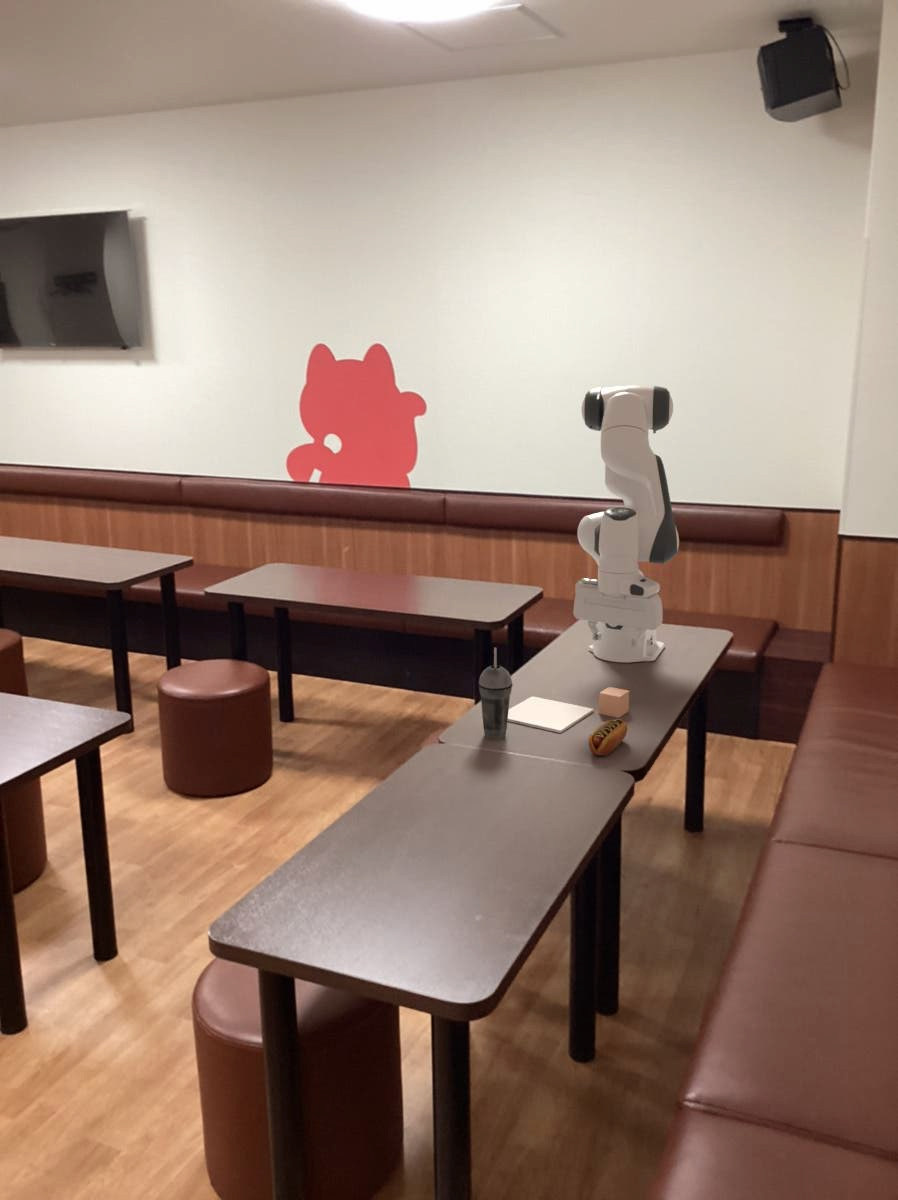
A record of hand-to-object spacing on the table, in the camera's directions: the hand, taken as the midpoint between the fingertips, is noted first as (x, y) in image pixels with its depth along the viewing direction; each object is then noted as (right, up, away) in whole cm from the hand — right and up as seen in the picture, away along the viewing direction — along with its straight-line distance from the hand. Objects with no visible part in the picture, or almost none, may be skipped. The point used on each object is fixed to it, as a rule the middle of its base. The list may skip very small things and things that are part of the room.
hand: (616, 643), depth 233 cm
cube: (0, -16, +4) cm, 17 cm away
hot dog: (-5, -21, -16) cm, 27 cm away
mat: (-16, -16, +3) cm, 23 cm away
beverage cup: (-27, -20, -9) cm, 35 cm away
